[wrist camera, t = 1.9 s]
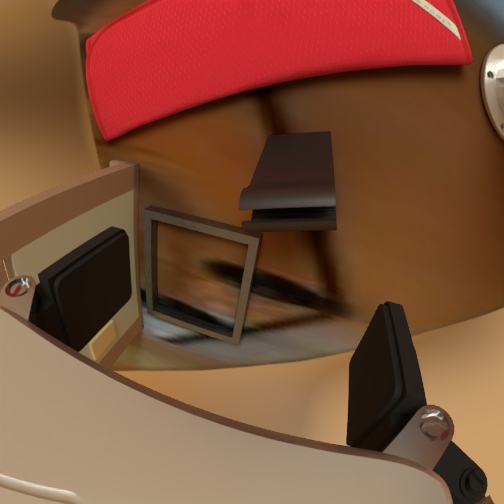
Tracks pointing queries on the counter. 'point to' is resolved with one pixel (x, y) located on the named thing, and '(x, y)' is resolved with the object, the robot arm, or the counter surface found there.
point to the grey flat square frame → (212, 228)
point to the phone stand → (292, 185)
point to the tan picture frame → (78, 240)
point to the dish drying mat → (253, 49)
